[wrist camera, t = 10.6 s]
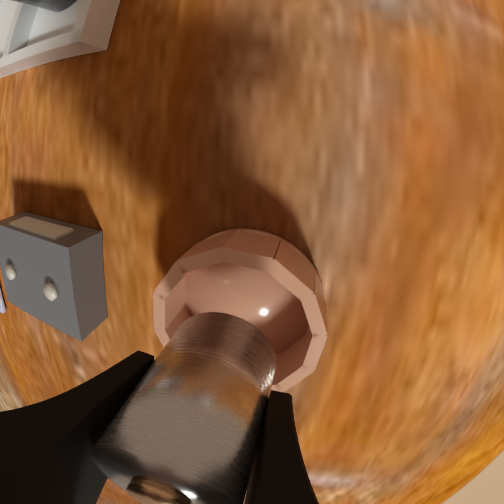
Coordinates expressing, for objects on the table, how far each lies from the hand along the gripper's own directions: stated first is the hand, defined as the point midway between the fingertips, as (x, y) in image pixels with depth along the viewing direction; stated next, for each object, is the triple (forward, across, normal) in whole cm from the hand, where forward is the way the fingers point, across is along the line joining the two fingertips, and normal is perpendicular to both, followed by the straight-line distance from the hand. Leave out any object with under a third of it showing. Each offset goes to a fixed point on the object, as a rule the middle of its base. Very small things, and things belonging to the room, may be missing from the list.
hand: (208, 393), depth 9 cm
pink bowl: (+7, 0, 0) cm, 7 cm away
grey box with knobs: (+7, +13, +1) cm, 15 cm away
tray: (+7, +18, -18) cm, 26 cm away
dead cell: (+2, 0, 0) cm, 2 cm away
